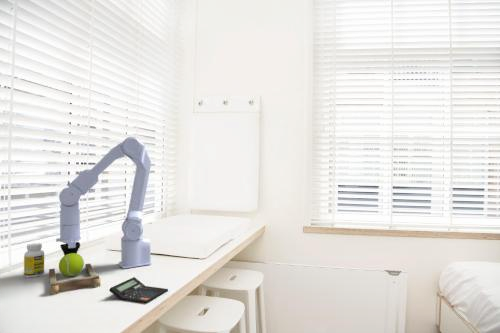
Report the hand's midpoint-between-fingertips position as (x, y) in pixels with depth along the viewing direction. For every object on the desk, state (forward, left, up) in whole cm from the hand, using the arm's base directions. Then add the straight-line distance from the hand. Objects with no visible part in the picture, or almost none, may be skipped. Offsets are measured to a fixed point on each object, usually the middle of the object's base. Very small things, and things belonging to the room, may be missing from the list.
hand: (70, 265), depth 112 cm
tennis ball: (0, +5, -2) cm, 5 cm away
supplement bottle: (+10, -2, -2) cm, 11 cm away
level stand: (0, +9, -2) cm, 9 cm away
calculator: (-14, +33, -2) cm, 36 cm away
